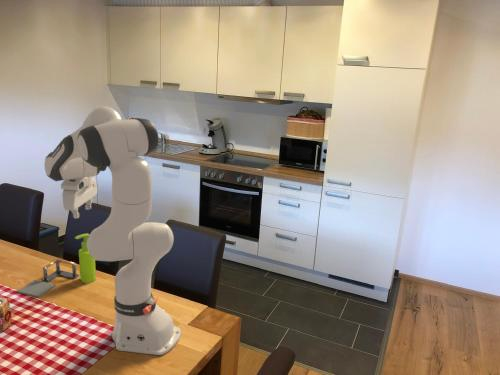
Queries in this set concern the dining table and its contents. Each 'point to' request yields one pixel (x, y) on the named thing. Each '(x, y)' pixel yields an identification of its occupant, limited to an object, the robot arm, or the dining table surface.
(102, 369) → the dining table surface
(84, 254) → the soap dispenser
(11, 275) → the dining table surface
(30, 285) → the mat
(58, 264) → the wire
